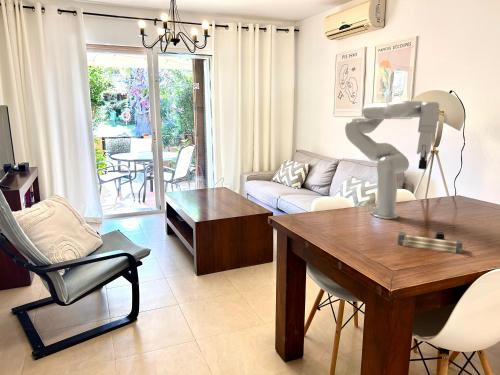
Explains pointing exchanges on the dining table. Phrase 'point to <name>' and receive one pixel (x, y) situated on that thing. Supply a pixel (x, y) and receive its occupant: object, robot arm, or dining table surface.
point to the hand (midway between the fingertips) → (422, 168)
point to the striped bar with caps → (430, 243)
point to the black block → (439, 235)
